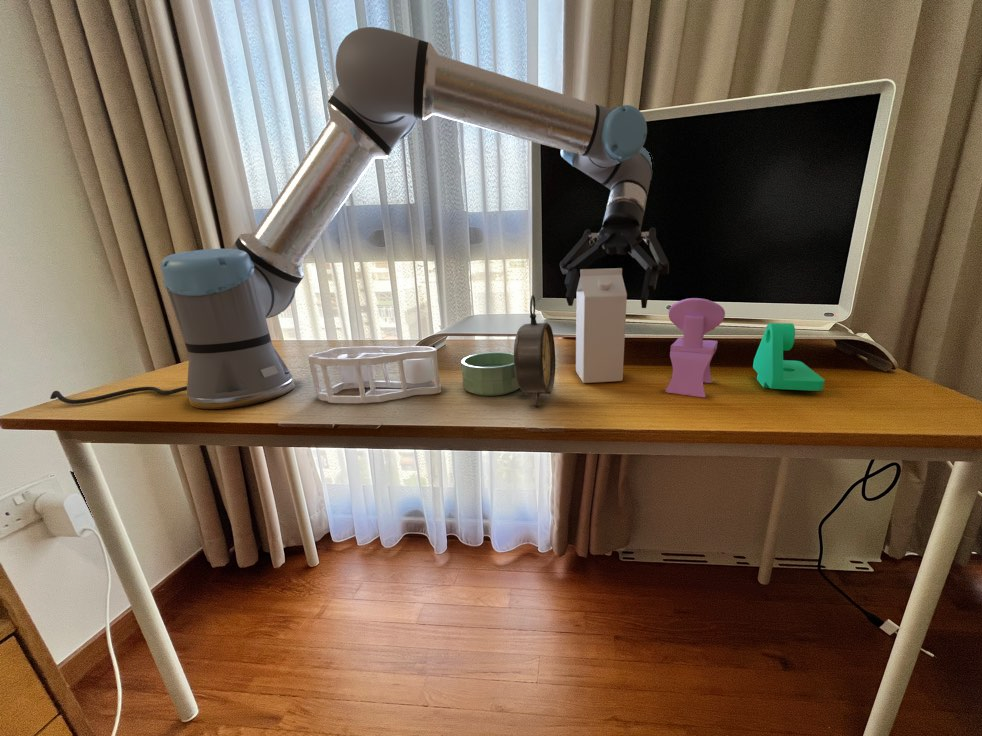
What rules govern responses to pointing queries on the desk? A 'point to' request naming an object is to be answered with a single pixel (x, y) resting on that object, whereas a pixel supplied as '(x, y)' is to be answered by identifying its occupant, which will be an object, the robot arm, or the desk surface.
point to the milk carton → (600, 325)
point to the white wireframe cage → (360, 373)
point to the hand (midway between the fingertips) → (605, 302)
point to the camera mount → (782, 362)
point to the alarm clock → (534, 357)
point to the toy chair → (693, 345)
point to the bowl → (489, 373)
